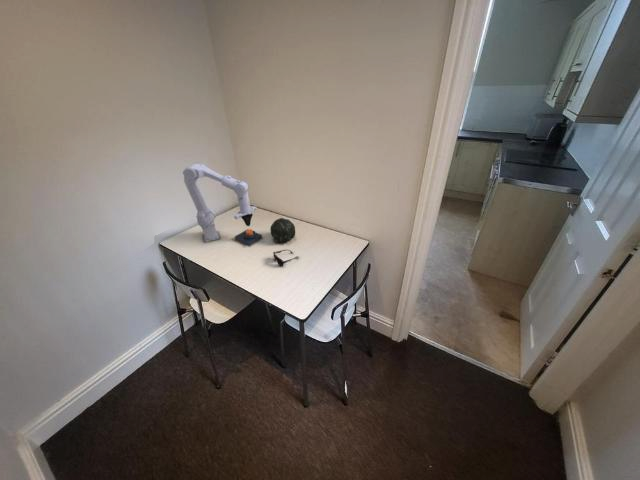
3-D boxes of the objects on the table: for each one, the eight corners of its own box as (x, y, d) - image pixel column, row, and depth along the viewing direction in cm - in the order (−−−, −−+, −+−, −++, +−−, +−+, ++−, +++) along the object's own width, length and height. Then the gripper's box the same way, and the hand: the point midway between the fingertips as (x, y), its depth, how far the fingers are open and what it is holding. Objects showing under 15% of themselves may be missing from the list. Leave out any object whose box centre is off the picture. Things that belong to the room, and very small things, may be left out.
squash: (294, 221, 160) (277, 208, 150) (303, 233, 149) (286, 220, 139) (279, 238, 161) (261, 226, 151) (287, 251, 150) (268, 239, 140)
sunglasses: (270, 258, 136) (270, 250, 134) (289, 253, 143) (290, 245, 141) (280, 268, 129) (280, 260, 127) (300, 262, 136) (300, 254, 134)
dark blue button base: (235, 239, 152) (234, 233, 150) (248, 232, 159) (247, 226, 157) (249, 246, 147) (248, 239, 144) (262, 238, 154) (261, 231, 151)
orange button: (244, 234, 150) (244, 231, 149) (249, 231, 152) (249, 228, 151) (249, 236, 148) (248, 233, 147) (254, 233, 151) (254, 230, 149)
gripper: (238, 210, 133) (243, 232, 140) (259, 200, 143) (262, 222, 150) (229, 207, 136) (234, 229, 143) (250, 198, 146) (253, 219, 153)
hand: (248, 225), depth 147 cm, fingers closed
